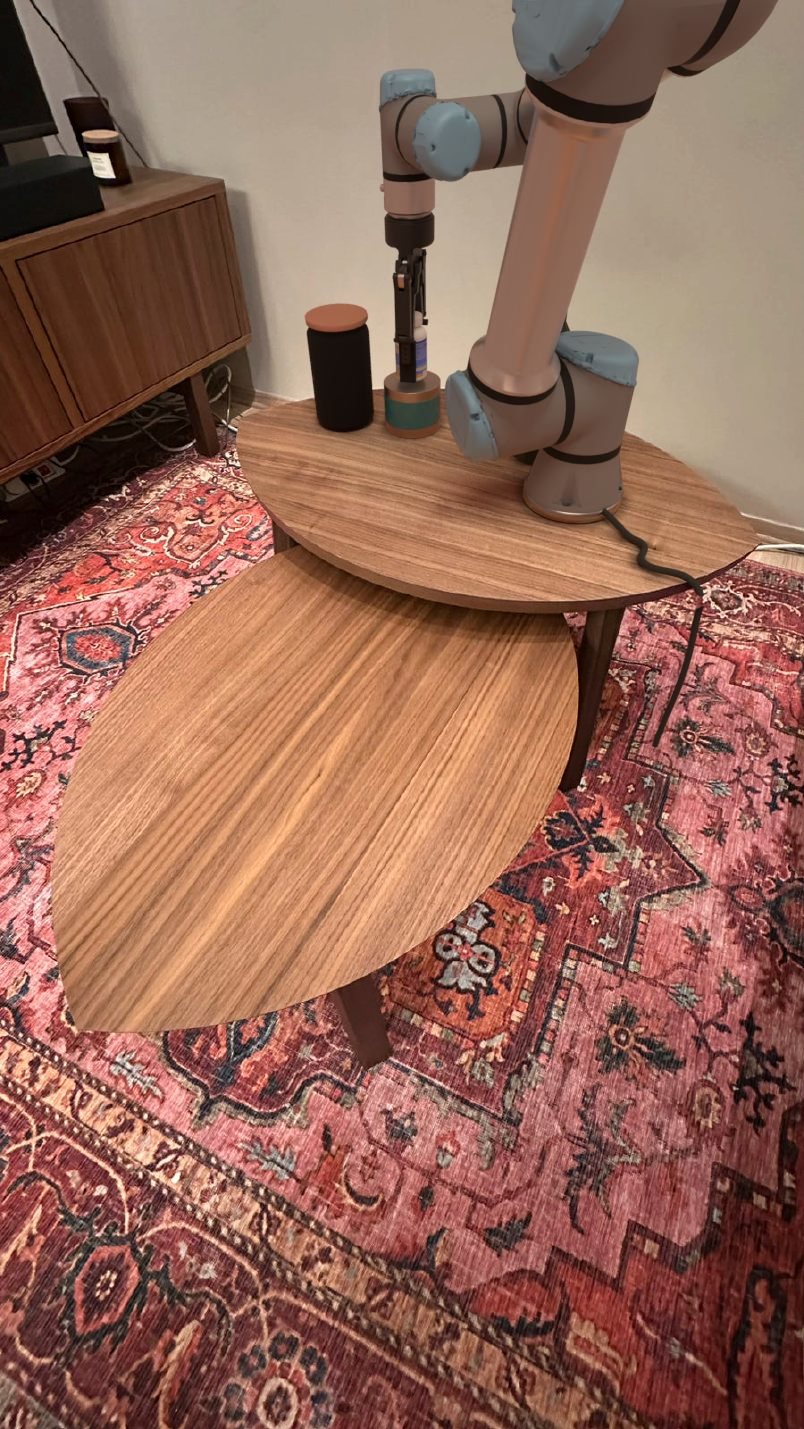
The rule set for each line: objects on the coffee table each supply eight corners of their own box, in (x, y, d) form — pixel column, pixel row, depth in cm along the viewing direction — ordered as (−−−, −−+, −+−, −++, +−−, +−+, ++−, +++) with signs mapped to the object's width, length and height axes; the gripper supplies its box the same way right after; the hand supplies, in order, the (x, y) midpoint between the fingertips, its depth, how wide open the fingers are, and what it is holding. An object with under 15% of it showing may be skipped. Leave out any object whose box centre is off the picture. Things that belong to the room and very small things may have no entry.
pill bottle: (428, 369, 121) (428, 308, 113) (425, 382, 117) (425, 320, 110) (397, 369, 121) (395, 308, 114) (394, 382, 117) (392, 320, 110)
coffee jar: (341, 402, 133) (331, 299, 119) (385, 416, 128) (380, 310, 115) (305, 424, 127) (290, 318, 114) (350, 439, 123) (340, 330, 109)
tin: (450, 430, 124) (451, 385, 118) (400, 443, 121) (398, 398, 115) (424, 408, 130) (424, 364, 124) (376, 420, 127) (373, 376, 121)
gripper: (398, 196, 108) (402, 352, 125) (369, 229, 96) (377, 395, 114) (445, 197, 107) (443, 354, 124) (421, 230, 95) (422, 399, 112)
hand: (411, 374), depth 119 cm, fingers closed on pill bottle, 5 cm apart
